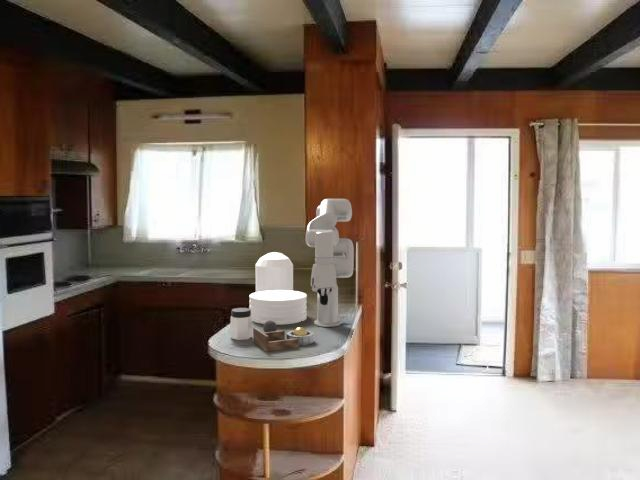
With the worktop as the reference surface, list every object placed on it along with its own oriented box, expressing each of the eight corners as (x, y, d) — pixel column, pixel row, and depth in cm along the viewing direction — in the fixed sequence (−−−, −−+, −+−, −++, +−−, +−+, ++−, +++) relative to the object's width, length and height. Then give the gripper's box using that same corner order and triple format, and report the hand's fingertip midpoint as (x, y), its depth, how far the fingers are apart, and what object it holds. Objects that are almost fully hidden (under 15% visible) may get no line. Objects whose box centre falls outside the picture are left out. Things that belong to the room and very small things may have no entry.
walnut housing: (283, 338, 235) (283, 324, 234) (298, 347, 222) (298, 332, 221) (253, 342, 229) (253, 327, 229) (266, 351, 216) (266, 336, 215)
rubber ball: (273, 331, 246) (273, 318, 245) (279, 335, 240) (279, 321, 240) (261, 333, 243) (261, 319, 243) (266, 336, 238) (265, 322, 237)
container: (251, 299, 319) (250, 250, 316) (286, 296, 327) (286, 249, 324) (261, 306, 300) (261, 254, 297) (298, 303, 308) (298, 253, 305)
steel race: (306, 337, 237) (306, 328, 237) (317, 343, 228) (318, 335, 227) (282, 339, 233) (282, 331, 232) (293, 346, 223) (293, 338, 222)
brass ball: (303, 338, 234) (303, 324, 233) (309, 342, 229) (309, 328, 228) (290, 340, 232) (290, 326, 231) (296, 344, 226) (296, 330, 225)
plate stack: (299, 326, 257) (299, 301, 256) (241, 323, 263) (241, 299, 262) (312, 313, 284) (312, 291, 283) (259, 310, 290) (259, 289, 289)
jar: (255, 337, 236) (255, 309, 235) (240, 341, 230) (240, 312, 229) (242, 333, 242) (242, 306, 241) (227, 337, 236) (226, 309, 235)
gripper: (335, 259, 239) (335, 301, 240) (304, 260, 232) (303, 304, 234) (344, 261, 232) (343, 304, 233) (311, 263, 225) (311, 307, 227)
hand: (323, 304), depth 234 cm, fingers closed
